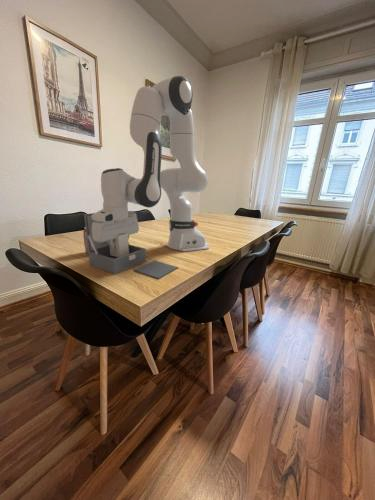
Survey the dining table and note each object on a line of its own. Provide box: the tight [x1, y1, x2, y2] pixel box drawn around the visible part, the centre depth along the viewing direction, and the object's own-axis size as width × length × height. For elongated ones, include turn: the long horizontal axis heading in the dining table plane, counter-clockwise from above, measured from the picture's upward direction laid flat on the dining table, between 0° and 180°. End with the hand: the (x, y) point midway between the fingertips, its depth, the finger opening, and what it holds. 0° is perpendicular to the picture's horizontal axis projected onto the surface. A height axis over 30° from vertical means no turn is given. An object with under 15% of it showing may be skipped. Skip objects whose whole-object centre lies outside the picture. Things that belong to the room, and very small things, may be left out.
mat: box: [133, 260, 179, 280], centre depth 80 cm, size 12×12×1 cm
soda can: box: [82, 226, 89, 255], centre depth 93 cm, size 7×7×12 cm
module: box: [109, 233, 129, 258], centre depth 83 cm, size 6×4×9 cm
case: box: [83, 212, 147, 275], centre depth 82 cm, size 15×17×20 cm
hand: (119, 247), depth 84 cm, fingers closed on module, 4 cm apart
